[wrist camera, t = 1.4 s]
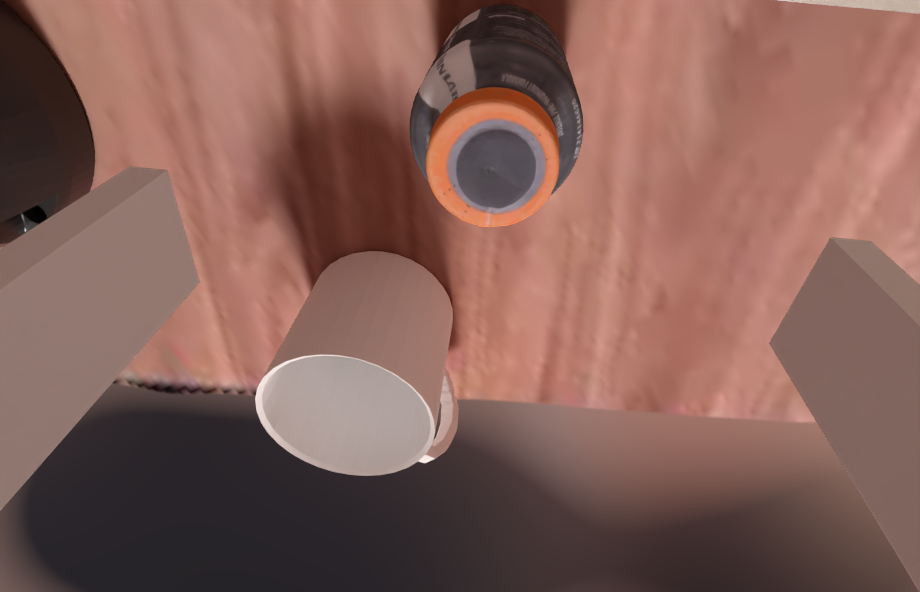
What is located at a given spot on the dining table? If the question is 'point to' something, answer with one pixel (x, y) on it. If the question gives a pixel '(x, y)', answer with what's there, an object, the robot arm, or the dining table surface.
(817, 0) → the box
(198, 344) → the dining table surface
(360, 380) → the mug
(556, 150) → the pill bottle
